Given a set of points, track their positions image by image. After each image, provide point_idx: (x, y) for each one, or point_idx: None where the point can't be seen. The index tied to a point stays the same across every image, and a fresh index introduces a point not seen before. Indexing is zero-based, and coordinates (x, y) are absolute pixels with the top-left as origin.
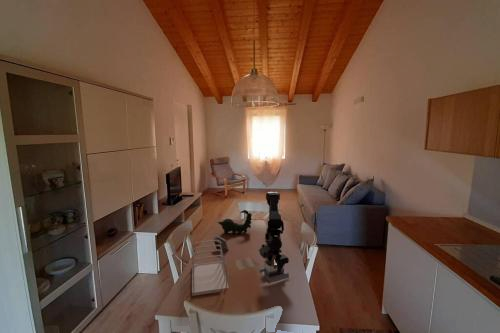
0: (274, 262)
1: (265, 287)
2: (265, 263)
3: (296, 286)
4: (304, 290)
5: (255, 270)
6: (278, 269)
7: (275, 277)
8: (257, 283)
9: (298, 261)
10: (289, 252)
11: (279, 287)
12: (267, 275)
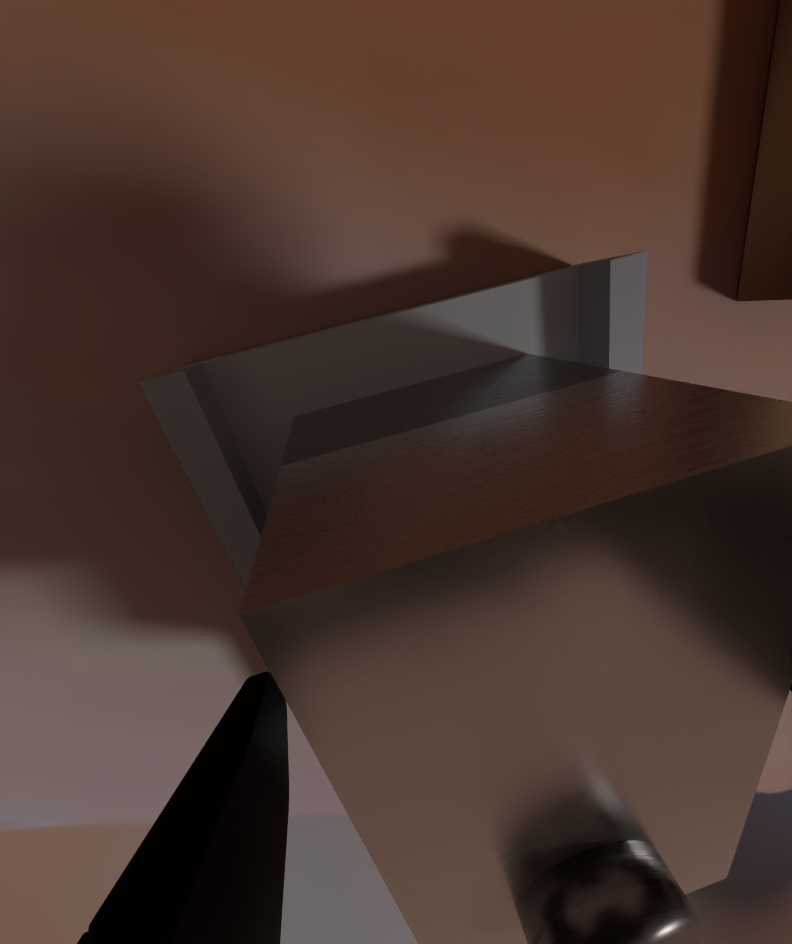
0: (567, 810)
1: (10, 233)
2: (708, 440)
3: (104, 750)
4: (12, 817)
5: (692, 187)
6: (160, 832)
7: (233, 548)
8: (188, 41)
9: None
10: (773, 740)
11: (50, 535)
12: (380, 392)
